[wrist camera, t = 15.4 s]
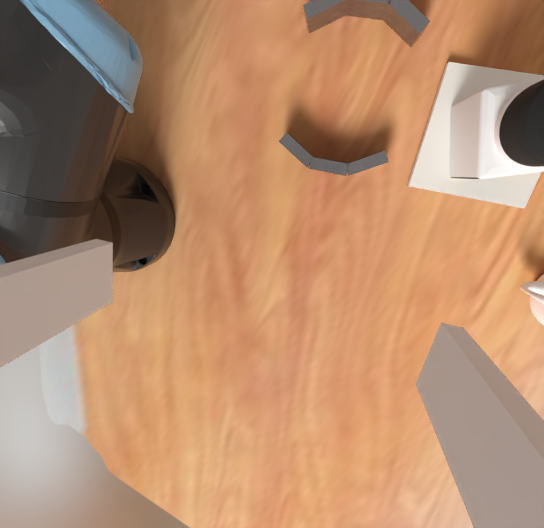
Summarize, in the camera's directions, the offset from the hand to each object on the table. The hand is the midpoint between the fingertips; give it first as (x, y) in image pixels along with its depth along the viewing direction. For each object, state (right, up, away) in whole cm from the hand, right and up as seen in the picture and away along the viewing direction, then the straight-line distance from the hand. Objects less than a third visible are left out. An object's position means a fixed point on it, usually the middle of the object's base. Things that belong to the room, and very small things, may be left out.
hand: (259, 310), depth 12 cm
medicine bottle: (+22, +15, +19) cm, 33 cm away
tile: (+23, +15, +19) cm, 33 cm away
